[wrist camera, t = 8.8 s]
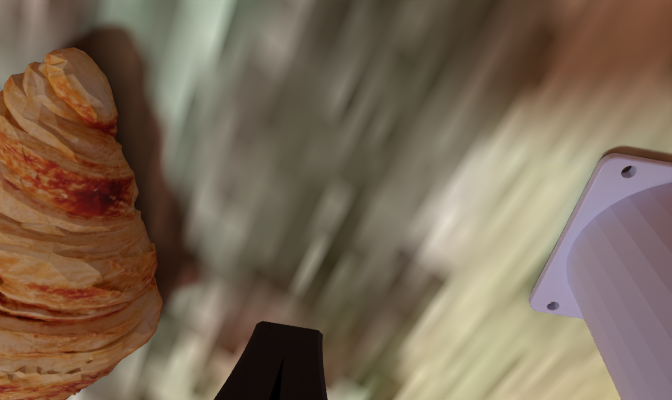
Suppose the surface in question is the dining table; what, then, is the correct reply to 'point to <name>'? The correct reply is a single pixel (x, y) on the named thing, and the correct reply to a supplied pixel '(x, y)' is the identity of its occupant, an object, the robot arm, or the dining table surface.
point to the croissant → (68, 234)
